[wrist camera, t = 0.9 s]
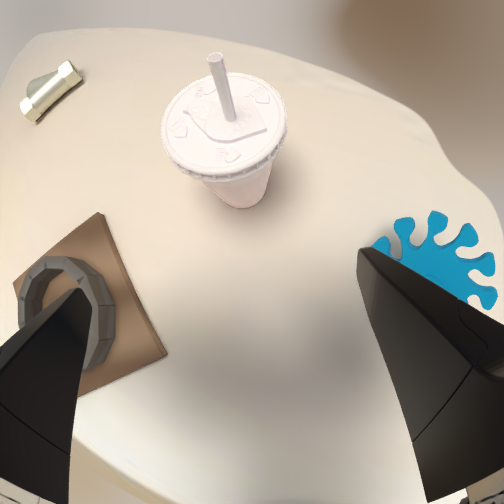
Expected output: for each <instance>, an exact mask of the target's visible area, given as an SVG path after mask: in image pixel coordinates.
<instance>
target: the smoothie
mask: <svg viewBox="0 0 504 504" xmlns="http://www.w3.org/2000/svg"><path fill="white" fill-rule="evenodd" d="M207 59H208V63H209V66H210V69H211V73H212V75H209V76H206V77H203V78H201V79H199V80H197V81H194V82H193V83H191V84H189V85H188V86H186V87H185V88H184V89H182V90H181V91H180V92H179V93H178V94H177V95H176V96H175V97H174V98H173V99H172V101H171V102H170V103H169V105H168V106H167V108H166V110H165V112H164V115H163V118H162V121H161V130H160V133H161V140H162V143H163V146H164V148H165V150H166V152H167V153H168V155H169V157H170V159H171V161H172V162H173V163H174V164H175V165H176V166H177V167H178V169H179V170H180V171H182V172H183V173H185V174H187V175H189V176H191V177H193V178H194V179H199V180H201V181H202V182H203V183H204V184H206V185H207V186H208V187H209V188H210V189H211V190H212V191H213V192H215V193H216V194H217V195H218V196H219V197H220V198H221V199H222V200H223V201H225V202H226V203H227V204H228V205H230V206H232V207H235V208H249V207H251V206H254V205H255V204H257V203H258V202H259V201H260V200H261V199H262V198H263V196H264V194H265V191H266V187H267V183H268V179H269V176H270V172H271V168H272V164H273V160H274V158H275V156H276V155H277V153H278V152H279V150H280V149H281V147H282V146H283V143H284V140H285V136H286V133H287V118H286V109H285V105H284V102H283V100H282V98H281V97H280V95H279V94H278V92H277V91H276V90H275V89H274V88H273V87H272V86H271V85H269V84H268V83H267V82H265V81H264V80H262V79H260V78H257V77H255V76H252V75H248V74H244V73H234V72H226V69H225V64H224V60H223V56H222V54H221V53H212V54H210V55H209V56H208V58H207Z"/></svg>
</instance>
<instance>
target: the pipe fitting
mask: <svg viewBox="0 0 504 504" xmlns="http://www.w3.org/2000/svg"><path fill="white" fill-rule="evenodd" d="M81 80H82V76H81V75H80V73H79V72H78V70H77V69H76V67H75V66H74V65H73V64H72V62H71V61H70V60H68V61H66V62H65V63H64V64H62V65H61V66H60V67H59V68H58V70H57V71H55V72H52V73H50V74H47V75H44V76H42V77H39V78H36V79H34V80H32V81H31V82H30V83H29V85H28V87H27V97H26V98H25V99H24V100H23V101H22V102H21V103H20V108H21V111H22V112H23V114H24V115H25V116H26V117H27V118H28V119H29V120H30V121H32V122H35V121H36V120H37V119H38V118H39V117H40V116H41V115H42V114H43V113H44V112H45V111H46V110H47V109H48V108H49V107H50V106H51V105H52V104H53V103H54V102H55V101H56V100H58V99H59V98H60V97H61V96H62V95H63V94H64V93H66V92H67V91H68V90H69V89H70V88H71V87H73V86H75V85H76V84H77V83H78V82H79V81H81Z"/></svg>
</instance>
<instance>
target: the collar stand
mask: <svg viewBox="0 0 504 504" xmlns="http://www.w3.org/2000/svg"><path fill="white" fill-rule="evenodd" d="M13 286H14V289H15V293H16V297H17V300H18V324H19V328H20V329H21V328H22V327H23V326H25V325H26V324H27V323H28V322H29V321H30V320H32V319H33V318H34V317H35V316H36V315H38V314H39V313H40V312H41V311H42V310H44V309H45V308H46V307H47V306H49V305H50V304H51V303H52V302H53V301H55V300H56V299H57V298H58V297H60V296H61V295H62V294H64V293H65V292H66V291H67V290H69V289H70V288H76V287H80V288H81V289H83V291H84V293H85V294H86V296H87V298H88V300H89V301H90V303H91V305H92V310H93V311H92V318H91V324H90V330H89V337H88V344H87V350H86V355H85V360H84V365H83V369H82V374H81V380H80V385H79V391H78V397H79V396H82V395H84V394H86V393H88V392H90V391H93V390H95V389H97V388H99V387H101V386H103V385H106V384H108V383H110V382H112V381H114V380H116V379H118V378H120V377H123V376H125V375H127V374H129V373H131V372H133V371H135V370H137V369H139V368H141V367H143V366H145V365H147V364H149V363H151V362H153V361H155V360H157V359H159V358H161V357H163V356H165V355H167V353H166V351H165V350H164V348H163V346H162V344H161V342H160V340H159V338H158V336H157V335H156V333H155V331H154V329H153V327H152V325H151V323H150V321H149V319H148V317H147V315H146V313H145V311H144V309H143V307H142V305H141V303H140V301H139V298H138V296H137V294H136V292H135V290H134V288H133V286H132V283H131V281H130V279H129V277H128V274H127V272H126V270H125V268H124V265H123V263H122V261H121V258H120V256H119V253H118V251H117V249H116V246H115V244H114V241H113V239H112V236H111V234H110V231H109V228H108V226H107V223H106V220H105V218H104V215H103V214H101V213H99V212H97V213H96V214H94V215H93V216H92V217H90V218H89V219H88V220H86V221H85V222H84V223H82V224H81V225H80V226H78V227H77V228H76V229H75V230H73V231H72V232H71V233H70V234H68V235H67V236H66V237H65V238H63V239H62V240H61V241H60V242H58V243H57V244H56V245H55V246H54V247H52V248H51V249H50V250H49V251H48V252H46V253H45V254H44V255H43V256H42V257H41V258H39V259H38V260H37V261H36V262H35V263H34V264H33V265H32V266H30V267H29V268H28V269H27V270H26V271H25V272H24V273H23V274H22V275H21V276H19V277H18V278H17V279H16V280H15V281H14V282H13Z"/></svg>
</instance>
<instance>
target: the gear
mask: <svg viewBox="0 0 504 504" xmlns="http://www.w3.org/2000/svg"><path fill="white" fill-rule="evenodd" d="M447 222H448V217H446V216H445V215H444V214H442V213H440V212H437V211H432V212H431V213H430V215H429V217H428V235H427V238H426V239H425V241H424V242H423V244H422V245H421V246H418V247H416V246H413V245H412V244H411V243H410V240H409V237H410V235H411V233H412V232H413V230H414V228H415V222H414V219H413V218H410V217H405V218H401V219H397V220H396V221H395V223H394V230H395V232H396V233H397V235H398V236H399V238H400V240H401V243H402V258H401V259H398V260H397V259H395V260H396V261H398V262H400V263H402V264H403V265H405V266H407V267H408V268H410V269H412V270H414V271H415V272H417V273H419V274H420V275H422V276H424V277H425V278H427V279H429V280H430V281H432V282H434V283H435V284H437V285H439V286H440V287H442V288H443V289H445V290H447V291H448V292H450V293H451V294H453V295H455V296H456V297H458V300H459V299H461V300H463V301H464V302H466V303H467V304H468V301H467V298H468V297H469V296H470V295H473V294H474V295H477V296H478V297H479V298H480V301H481V305H482V307H483V308H484V309H486V310H490V309H491V308H492V307H493V306H494V304H495V302H496V300H497V297H498V295H497V290H496V289H495V288H494V287H492V286H487V287H486V286H481V285H478V284H477V283H475V282H474V281H473V280H472V279H470V278H469V276H468V273H469V271H470V270H472V269H477V270H479V271H480V272H481V273H482V274H483V275H485V276H488V277H489V276H493V275H494V273H495V260H494V255H493V253H491V252H486V253H484V254H483V255H481V256H480V257H478V258H474V259H465V258H460V257H458V256H457V255H456V253H455V251H456V249H457V248H458V247H460V246H465V247H473V246H475V245H476V244H477V243H478V241H479V240H478V235H477V233H476V231H475V229H474V228H473V227H472V225H471V224H470V223H466V224H464V225H463V226H462V228H461V230H460V233H459V234H458V236H457V237H456V238H455V239H454V240H453V241H451V242H450V243H448V244H445V245H443V246H439V245H437V244H436V243H435V242H434V239H433V237H434V236H435V235H436V234H438V233H440V232H442V231H444V230H445V228H446V226H447ZM371 247H373V248H375V249H377V250H379V251H380V252H382V253H384V254H386V255H388V256H389V257H391V258H393V257H392V256H391V253H390V248H391V244H390V241H389V239H388V238H387V237H385V236H383V237H381V238H380V239H378V240H377V241H376V242H375V243H374V244H373V245H372V246H371ZM393 259H394V258H393Z"/></svg>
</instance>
